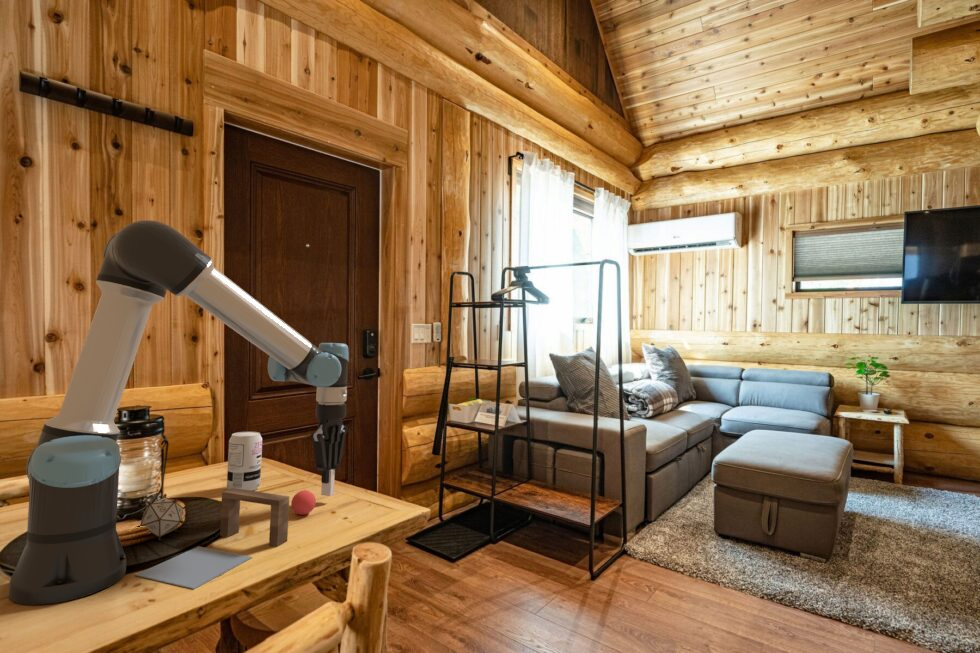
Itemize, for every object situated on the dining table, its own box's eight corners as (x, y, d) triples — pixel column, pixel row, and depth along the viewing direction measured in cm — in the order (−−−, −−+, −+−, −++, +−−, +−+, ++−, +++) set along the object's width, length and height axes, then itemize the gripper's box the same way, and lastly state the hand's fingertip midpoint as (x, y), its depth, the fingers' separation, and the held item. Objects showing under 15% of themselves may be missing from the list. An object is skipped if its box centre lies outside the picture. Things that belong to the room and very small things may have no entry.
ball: (305, 519, 117) (306, 495, 118) (285, 516, 119) (286, 492, 119) (320, 512, 123) (321, 489, 123) (300, 509, 124) (301, 486, 125)
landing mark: (193, 589, 84) (193, 588, 84) (135, 575, 88) (135, 574, 88) (251, 558, 97) (252, 556, 97) (198, 547, 100) (198, 546, 100)
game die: (171, 553, 106) (201, 516, 106) (128, 550, 99) (160, 511, 99) (164, 521, 112) (192, 486, 111) (123, 517, 105) (153, 480, 105)
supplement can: (227, 486, 140) (229, 431, 141) (259, 483, 144) (262, 430, 144) (225, 494, 133) (228, 437, 133) (260, 491, 137) (262, 436, 137)
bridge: (277, 546, 102) (279, 500, 102) (219, 535, 106) (222, 491, 107) (287, 541, 105) (289, 496, 105) (231, 530, 109) (233, 487, 109)
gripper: (328, 406, 123) (324, 504, 123) (358, 401, 136) (354, 489, 135) (302, 404, 126) (298, 500, 125) (333, 399, 138) (330, 486, 137)
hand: (327, 494), depth 130 cm, fingers closed
